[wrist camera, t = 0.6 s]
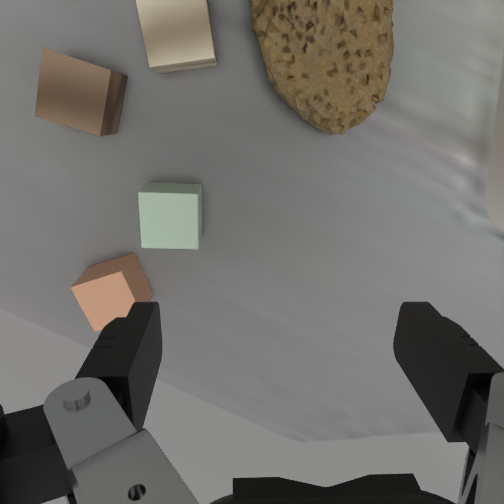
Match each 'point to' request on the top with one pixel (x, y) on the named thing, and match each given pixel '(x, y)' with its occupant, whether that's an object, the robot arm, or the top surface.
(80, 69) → the walnut block
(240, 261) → the top surface
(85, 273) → the terracotta block
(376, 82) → the sponge
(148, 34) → the maple block
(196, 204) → the sage block
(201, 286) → the top surface
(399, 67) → the top surface
